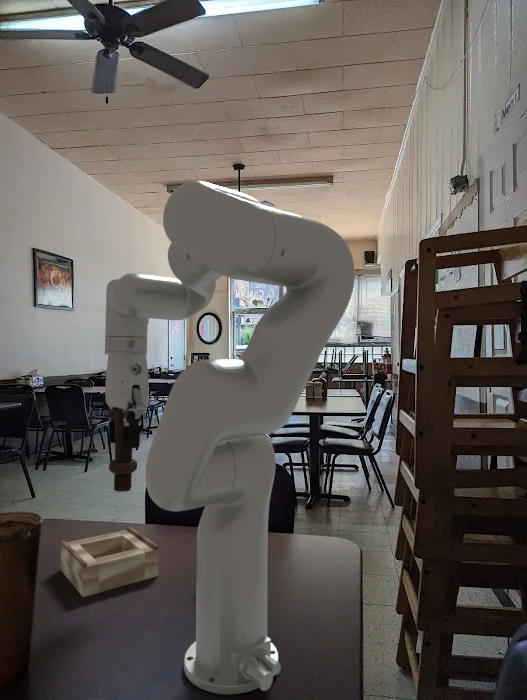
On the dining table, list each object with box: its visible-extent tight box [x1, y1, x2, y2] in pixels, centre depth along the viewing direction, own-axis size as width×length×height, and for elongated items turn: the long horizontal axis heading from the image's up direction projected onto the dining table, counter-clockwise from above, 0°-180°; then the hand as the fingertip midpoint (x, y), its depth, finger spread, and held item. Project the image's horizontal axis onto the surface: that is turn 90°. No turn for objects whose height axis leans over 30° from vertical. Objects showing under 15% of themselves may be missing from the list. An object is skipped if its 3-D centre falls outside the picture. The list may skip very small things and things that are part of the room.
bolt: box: [107, 408, 138, 493], centre depth 90 cm, size 6×5×15 cm
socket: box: [60, 526, 160, 598], centre depth 94 cm, size 14×14×6 cm
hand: (123, 444), depth 90 cm, fingers closed on bolt, 5 cm apart
